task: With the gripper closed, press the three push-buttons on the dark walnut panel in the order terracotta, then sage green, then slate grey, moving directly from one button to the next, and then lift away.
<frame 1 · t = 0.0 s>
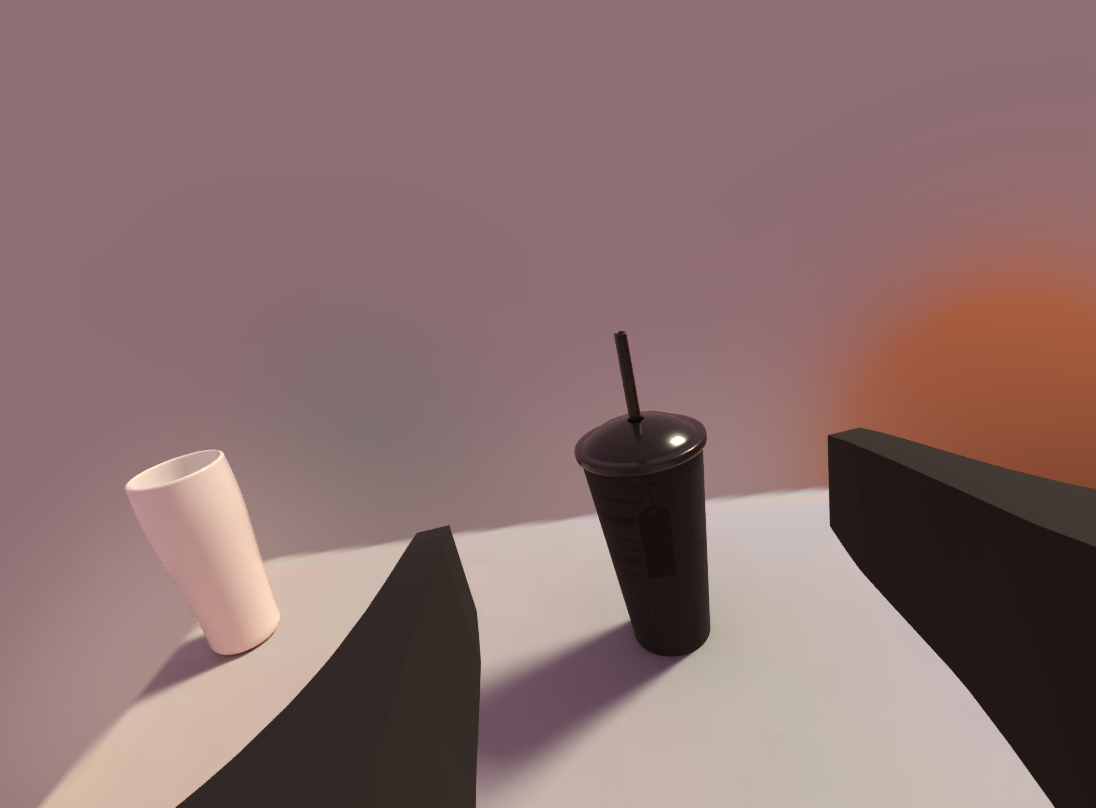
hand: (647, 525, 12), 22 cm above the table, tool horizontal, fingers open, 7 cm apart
drinking cup: (673, 631, 40), on the table
drinking glass: (249, 637, 50), on the table
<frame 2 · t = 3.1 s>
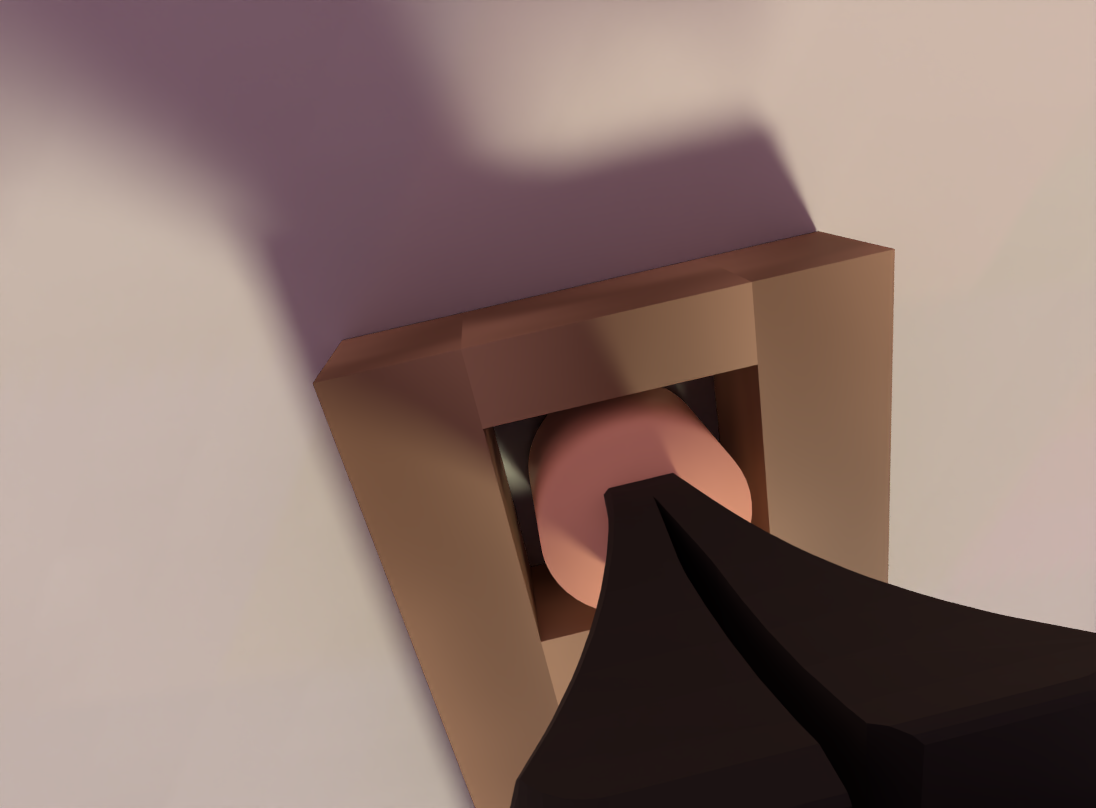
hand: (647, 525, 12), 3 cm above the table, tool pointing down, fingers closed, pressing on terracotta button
terracotta button: (630, 492, 13), point 2 cm above the table, slide at 0.8 cm, touching gripper
panel: (658, 702, 17), on the table
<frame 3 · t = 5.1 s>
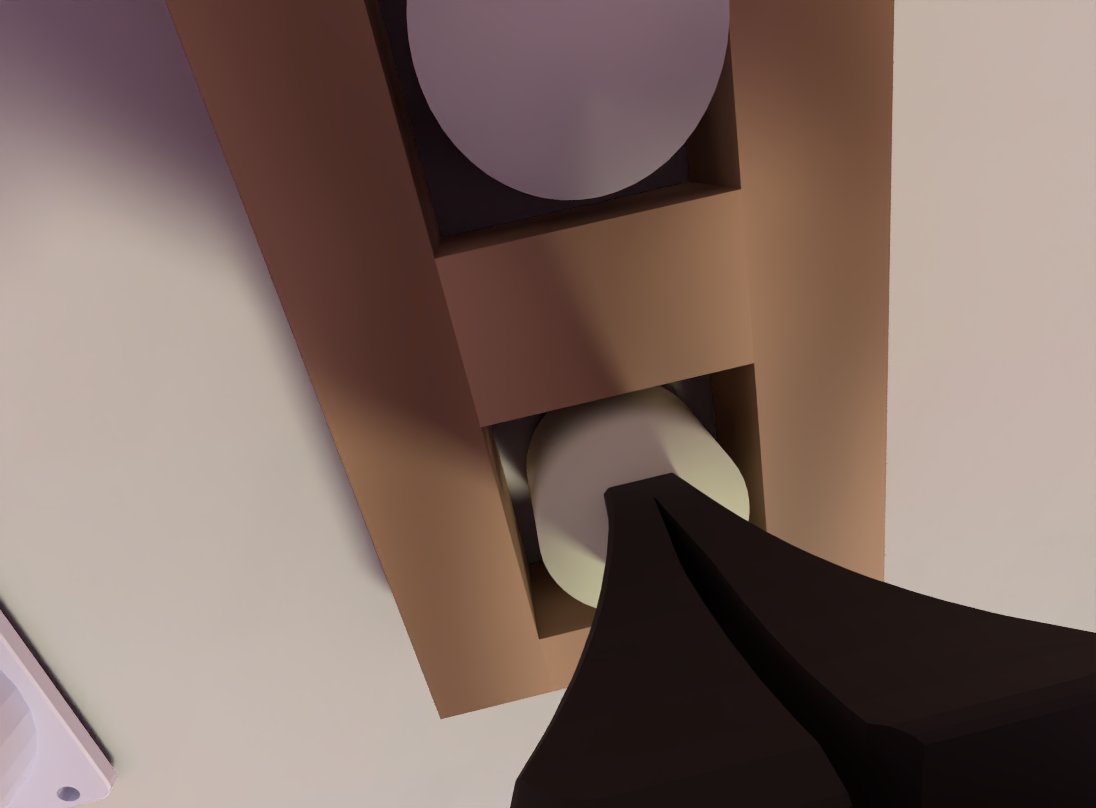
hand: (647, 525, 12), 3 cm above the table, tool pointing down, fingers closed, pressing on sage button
panel: (540, 67, 11), on the table
sage button: (628, 491, 13), point 2 cm above the table, slide at 0.8 cm, touching gripper
grey button: (558, 46, 9), point 2 cm above the table, slide at 0.0 cm
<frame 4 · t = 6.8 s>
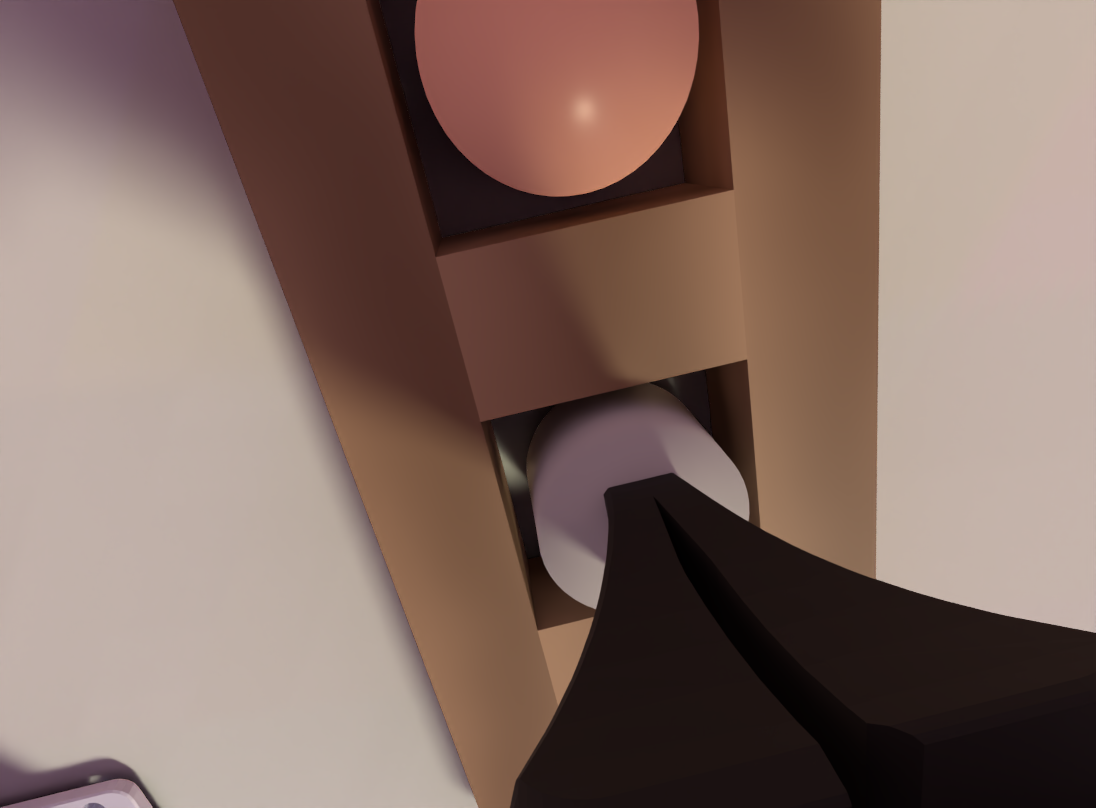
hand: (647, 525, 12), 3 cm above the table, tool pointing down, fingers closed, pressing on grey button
terracotta button: (549, 59, 10), point 2 cm above the table, slide at 0.8 cm
panel: (608, 449, 15), on the table
grey button: (628, 492, 13), point 2 cm above the table, slide at 0.5 cm, touching gripper
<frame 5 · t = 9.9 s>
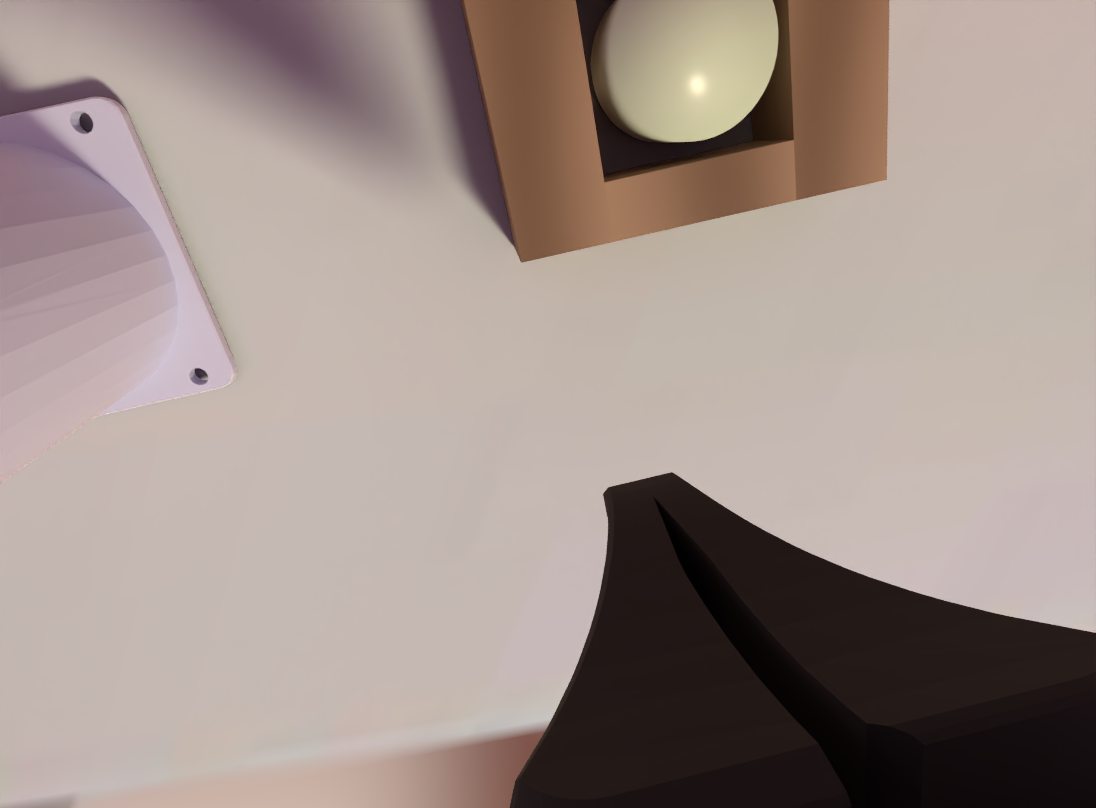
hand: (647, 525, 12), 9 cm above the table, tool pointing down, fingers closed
sage button: (678, 56, 16), point 2 cm above the table, slide at 0.8 cm
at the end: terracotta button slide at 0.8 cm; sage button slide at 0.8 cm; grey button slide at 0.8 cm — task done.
